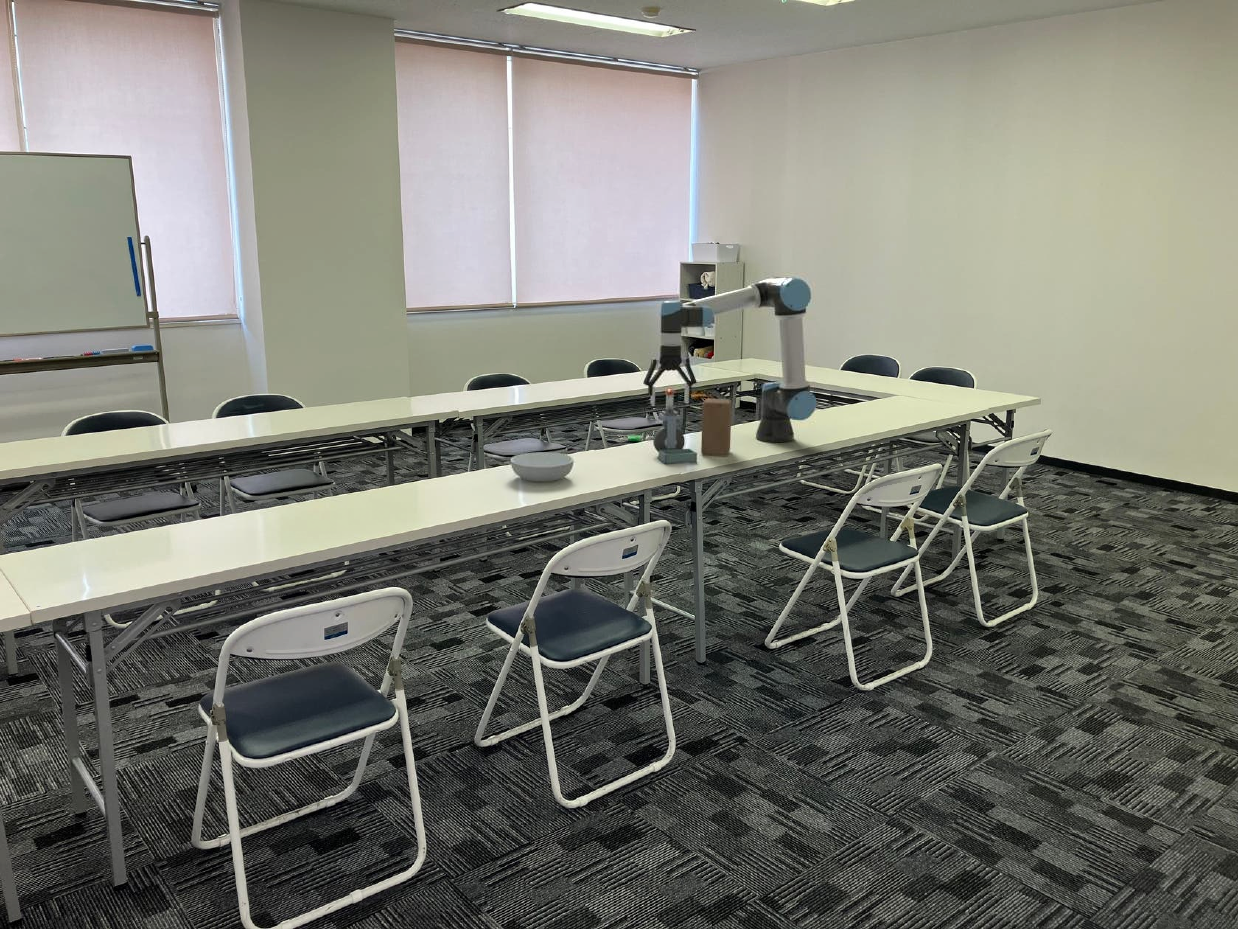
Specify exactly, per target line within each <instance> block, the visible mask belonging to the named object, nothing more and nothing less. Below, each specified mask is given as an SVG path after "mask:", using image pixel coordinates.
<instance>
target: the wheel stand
mask: <svg viewBox="0 0 1238 929" xmlns="http://www.w3.org/2000/svg"><path fill="white" fill-rule="evenodd" d="M658 418H660V419H661V420H662V427H659V429H658V430H656V431H655V434H654V436H653V440H652V441H653V442H652V443H653V447H654V448H655V450H656V451H657V453H659V450H672V449H684V447H685V440H686V439H685V437H684V433H683V432H682V431H681V430H680V429H679V428H677V421H680V420H681V415H679V412H678V411H676V410H673V413H666V410H661V412H660V413H658Z"/></svg>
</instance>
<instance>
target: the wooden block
mask: <svg viewBox="0 0 1238 929" xmlns="http://www.w3.org/2000/svg"><path fill="white" fill-rule="evenodd" d="M732 403H733V402H732V400H731V399H722V398H705V400H704V401H703V403H702V407H701V408H702V409H701V410H702V411H701V444H700V445H701V448H700V449H701V450H700V451H701V452H700V453H701V455H702V456H710V457H713V456H715V457H728V455H729V453H730V450H731V433H732V432H731V431H732V430H731V428H732V405H733V404H732Z"/></svg>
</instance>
